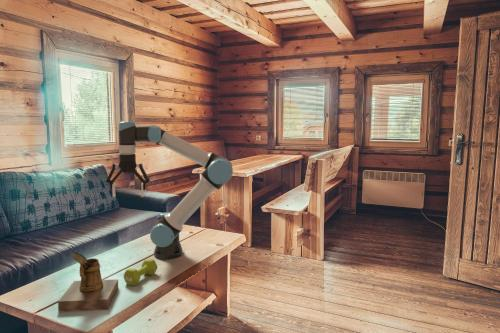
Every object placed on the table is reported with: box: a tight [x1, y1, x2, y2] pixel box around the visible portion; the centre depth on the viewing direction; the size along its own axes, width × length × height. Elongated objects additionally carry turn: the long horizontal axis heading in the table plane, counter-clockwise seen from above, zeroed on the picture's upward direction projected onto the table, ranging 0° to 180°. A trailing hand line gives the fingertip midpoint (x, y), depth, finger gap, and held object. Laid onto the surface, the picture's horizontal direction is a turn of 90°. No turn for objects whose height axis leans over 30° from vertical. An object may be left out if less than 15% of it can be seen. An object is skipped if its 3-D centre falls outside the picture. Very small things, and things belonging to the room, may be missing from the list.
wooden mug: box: [71, 251, 103, 292], centre depth 149 cm, size 9×14×18 cm, turn 165°
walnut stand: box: [57, 279, 119, 313], centre depth 150 cm, size 18×18×4 cm
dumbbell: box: [123, 258, 158, 287], centre depth 170 cm, size 16×8×7 cm, turn 158°
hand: (128, 196), depth 183 cm, fingers open, 13 cm apart
